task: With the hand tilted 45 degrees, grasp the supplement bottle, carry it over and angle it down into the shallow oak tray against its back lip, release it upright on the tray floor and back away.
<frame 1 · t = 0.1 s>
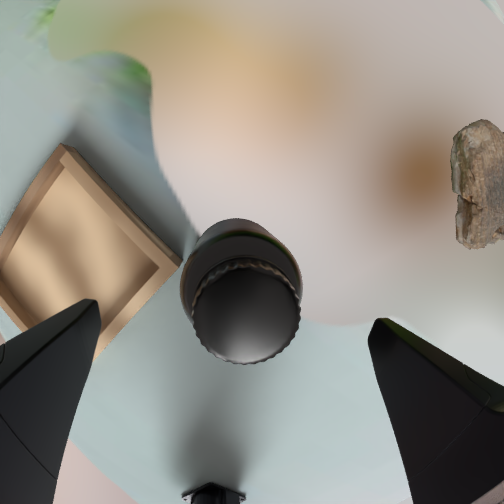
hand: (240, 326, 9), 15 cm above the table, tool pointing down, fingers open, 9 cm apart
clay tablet: (496, 181, 26), on the table
oak tray: (69, 268, 23), on the table
supplement bottle: (235, 259, 24), on the table
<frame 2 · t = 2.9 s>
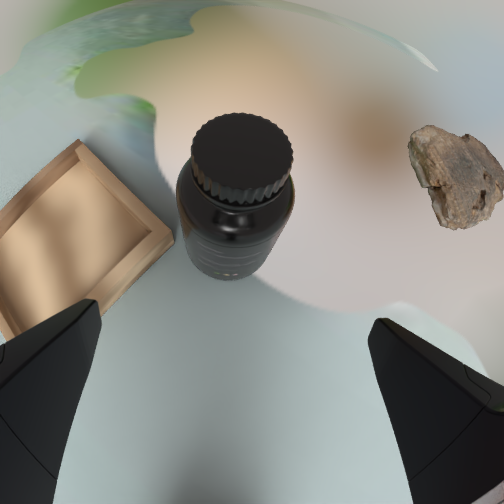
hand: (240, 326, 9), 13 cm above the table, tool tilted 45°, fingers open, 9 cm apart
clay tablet: (460, 181, 33), on the table
oak tray: (58, 253, 22), on the table
supplement bottle: (226, 243, 24), on the table
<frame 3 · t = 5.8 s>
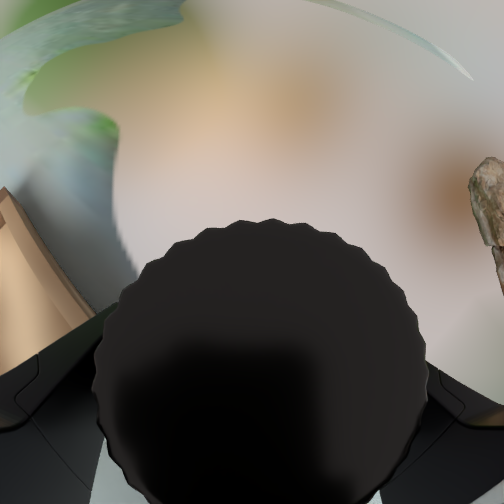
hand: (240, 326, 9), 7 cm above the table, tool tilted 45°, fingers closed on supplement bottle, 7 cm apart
supplement bottle: (226, 366, 15), on the table, touching gripper
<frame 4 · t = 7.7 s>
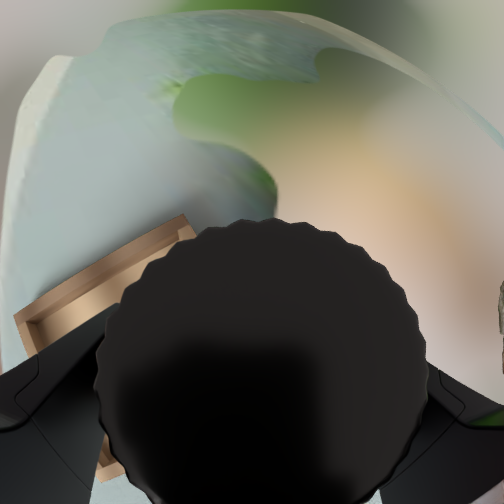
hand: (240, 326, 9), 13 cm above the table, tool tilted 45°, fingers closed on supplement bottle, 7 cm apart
oak tray: (140, 354, 20), on the table
supplement bottle: (227, 365, 15), point 6 cm above the table, touching gripper
when the fingers open (9 cm above the table, at t = 9.8 s): supplement bottle drops 1 cm, resting on oak tray.
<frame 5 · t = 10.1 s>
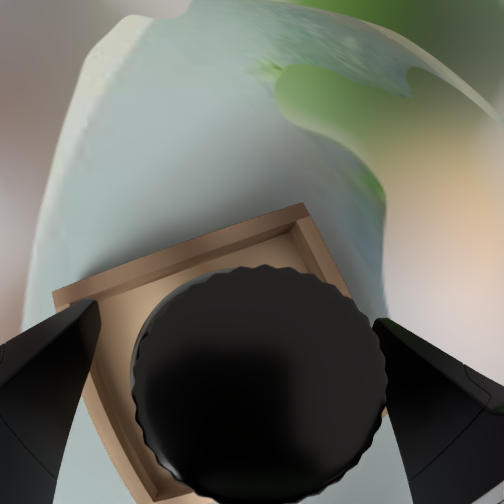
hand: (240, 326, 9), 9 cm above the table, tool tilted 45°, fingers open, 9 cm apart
oak tray: (223, 365, 16), on the table
supplement bottle: (227, 369, 16), point 1 cm above the table, touching oak tray
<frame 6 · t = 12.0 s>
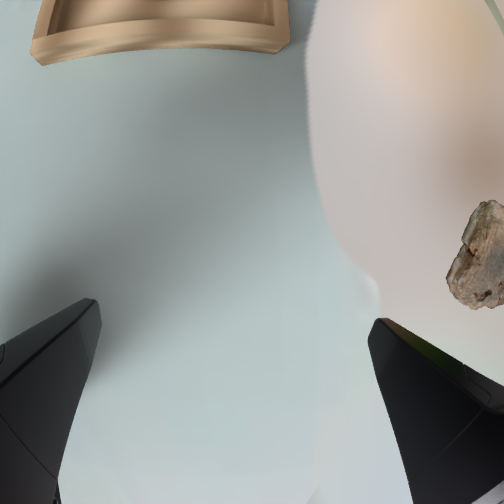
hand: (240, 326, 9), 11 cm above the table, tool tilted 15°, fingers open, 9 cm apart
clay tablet: (482, 263, 33), on the table
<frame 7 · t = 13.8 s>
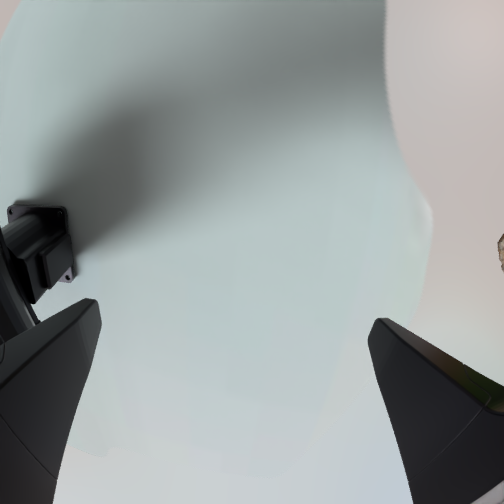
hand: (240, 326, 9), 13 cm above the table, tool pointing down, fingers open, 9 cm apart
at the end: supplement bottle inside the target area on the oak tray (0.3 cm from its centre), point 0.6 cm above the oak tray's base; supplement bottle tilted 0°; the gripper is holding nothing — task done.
